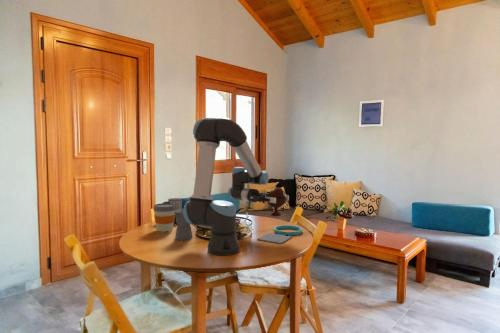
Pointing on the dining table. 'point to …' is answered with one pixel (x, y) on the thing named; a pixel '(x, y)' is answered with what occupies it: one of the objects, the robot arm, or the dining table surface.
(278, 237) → the mat
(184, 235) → the coffeepot
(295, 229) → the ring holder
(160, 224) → the reusable coffee cup
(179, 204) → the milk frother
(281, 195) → the ice cream bowl
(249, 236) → the dining table surface
